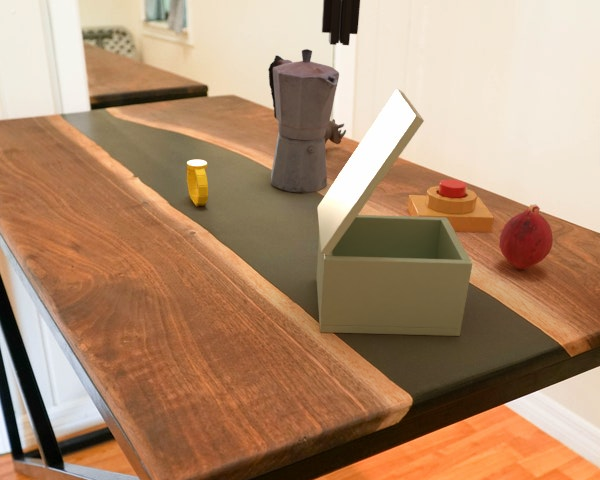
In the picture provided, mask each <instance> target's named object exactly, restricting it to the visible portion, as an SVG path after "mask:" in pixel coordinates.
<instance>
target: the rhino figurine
mask: <svg viewBox="0 0 600 480" xmlns="http://www.w3.org/2000/svg"><path fill="white" fill-rule="evenodd" d="M344 126H345V123H340V124H337V123H336V119H334V118H333V119H332V120H330V122H329V123H328V124H327V125H326V133H325V136H324V138H325V145H326V144H327V141H330V142H332V143H333V144H335V145H340V144H341V142H342V139H343V138H344V136H345V135H346V134H347V129H344V130H343V132H342V128H344Z"/></svg>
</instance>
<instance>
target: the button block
mask: <svg viewBox="0 0 600 480" xmlns="http://www.w3.org/2000/svg"><path fill="white" fill-rule="evenodd" d="M438 192H439V185H435V186H430V188H428V189H427V190H426V195H423V194H419V195H418V194H409V195H408V203H407V211H408V213H409V216H414V217H446V218H447V219H448V220H449V222H450V224H451V226H452V228H453V229H454V231H455V233H457V232H458V233H459V232H460V233H462V232H463V233H492V230H493V224H494V219H495V218H494V215H493V214H492V213H491V211H490V210H489V209H488V208H487V206H486V205H485V203H484V202H483V201H482V199H481V198H480V197H479V196H478V195H477V193H476V192H475V191H473V190H471V189H468V188H467V189H466V195H465V198H460V199H459V198H448V197H443V196H441V195H438Z"/></svg>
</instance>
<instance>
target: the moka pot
mask: <svg viewBox="0 0 600 480" xmlns="http://www.w3.org/2000/svg"><path fill="white" fill-rule="evenodd" d="M312 56H313V50H311V49H308V48H306V49H302V50H301V57H302V60H300V61H292V60H290V59H284V58H282V57H281V56H279V55H274V60H273V61H272V62H271V63H270V64H269V67H268V70H267V71H268V80H269V82H268V83H269V87H270V92H271V93H270V94H271V98H272V107H273V117H274V118H275V119H276V120H277V122H278V123H277V124H278V127H277V128H278V129H277V130H278V134H277V138H276V142H275V143H276V144H275V151H274V156H273V161H272V167H271V172H270V173H271V174H270V183H271V185H272V186H274V187H275V188H278V190H282V191H284V192H289V193H296V194H305V193H307V194H308V193H314V192H318V191H321V190H323V189H324V188H325V187H326V186H327V184H328V174H327V173H328V171H327V158H326V157H327V155H326V154H327V153H326V151H327V150H326V144H325V138H324V136H325V133H326V125H327V124H328V123H329V122H330V121H331V117H332V113H333V112H332V111H333V106H334V101H335V96H336V92H337V87H338V83H339V77H340V72H339V71H338V70H336V68H333V67H332V66H329V65H327V64H322V63H318V62H314V61H311V60H312Z"/></svg>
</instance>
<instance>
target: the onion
mask: <svg viewBox="0 0 600 480" xmlns="http://www.w3.org/2000/svg"><path fill="white" fill-rule="evenodd" d="M540 209H541V208H540V207H539V206H538V205H537V204H530V205H529V206H528V207H527V208H526V209H525V210H524V211H523V212H520V213H518V214H516V215H514V216H513V217H512V218H510V219H509V220H508V221H507V222H506V223H505V224H504V225H503V228H502V230H501V233H500V237H499V249H500V252H501V253H502V255H503V257H504V258H505V260H506V261H507V262H508V263H509V264H510V265H511V266H513V268H515V269H517V270H520V271H523V270H526V269H528V268H530V267H532V266H535V265H537V264H539V263H540V262H542V261H544V259H545V258H546V257H547V256H548V255H549V254H550V252H551V251H552V248H553V240H554V239H553V231H552V228H551V225H550V224H549V222H548V221H547V220H546V219H545V217H543V216H542V215H541V214H540V213H539V212H540Z"/></svg>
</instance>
